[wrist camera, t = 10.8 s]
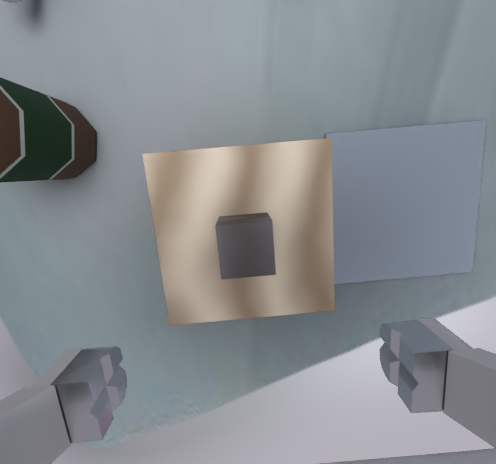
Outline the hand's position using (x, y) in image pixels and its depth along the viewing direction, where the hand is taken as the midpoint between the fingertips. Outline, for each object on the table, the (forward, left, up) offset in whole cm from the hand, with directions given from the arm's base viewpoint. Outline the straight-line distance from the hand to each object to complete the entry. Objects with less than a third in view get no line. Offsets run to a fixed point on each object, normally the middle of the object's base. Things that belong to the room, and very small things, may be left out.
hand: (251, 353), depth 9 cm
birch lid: (0, 0, -17) cm, 17 cm away
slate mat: (-18, 0, -24) cm, 30 cm away
